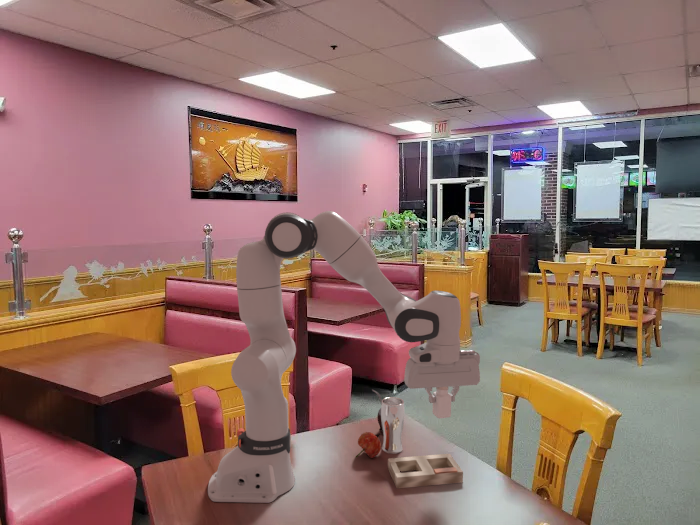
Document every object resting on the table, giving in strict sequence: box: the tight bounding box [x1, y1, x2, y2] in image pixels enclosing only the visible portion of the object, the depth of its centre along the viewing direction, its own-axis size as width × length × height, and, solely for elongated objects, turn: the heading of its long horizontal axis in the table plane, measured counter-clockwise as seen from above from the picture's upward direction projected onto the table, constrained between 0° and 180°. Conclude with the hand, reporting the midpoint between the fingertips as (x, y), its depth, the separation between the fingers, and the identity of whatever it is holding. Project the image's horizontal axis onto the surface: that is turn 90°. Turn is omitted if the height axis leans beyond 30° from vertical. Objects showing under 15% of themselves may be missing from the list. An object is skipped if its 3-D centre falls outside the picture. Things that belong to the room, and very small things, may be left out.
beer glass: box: [380, 396, 405, 455], centre depth 154 cm, size 7×7×15 cm
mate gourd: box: [371, 389, 384, 437], centre depth 165 cm, size 8×8×15 cm
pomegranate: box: [355, 431, 382, 459], centre depth 151 cm, size 7×7×10 cm
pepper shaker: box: [432, 387, 452, 419], centre depth 139 cm, size 4×4×10 cm
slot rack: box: [387, 453, 464, 489], centre depth 140 cm, size 18×10×3 cm, turn 99°
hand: (441, 401), depth 139 cm, fingers closed on pepper shaker, 4 cm apart
